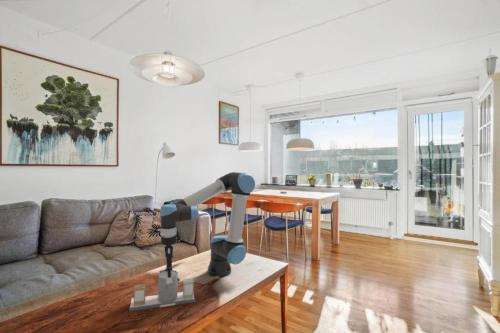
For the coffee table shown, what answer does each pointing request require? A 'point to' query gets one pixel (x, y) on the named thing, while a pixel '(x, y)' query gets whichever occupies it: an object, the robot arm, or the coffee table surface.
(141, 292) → the clay box
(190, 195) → the robot arm
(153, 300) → the shelf board
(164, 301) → the beer can
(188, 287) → the sage box
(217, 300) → the coffee table surface
